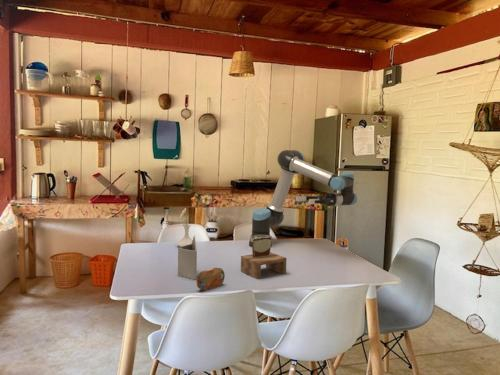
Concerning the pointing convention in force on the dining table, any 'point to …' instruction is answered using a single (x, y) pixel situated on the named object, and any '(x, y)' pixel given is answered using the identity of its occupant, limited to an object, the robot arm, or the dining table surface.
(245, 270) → the walnut shelf
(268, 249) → the food container
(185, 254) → the planter
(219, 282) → the tin
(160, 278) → the dining table surface
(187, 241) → the flower in vase
